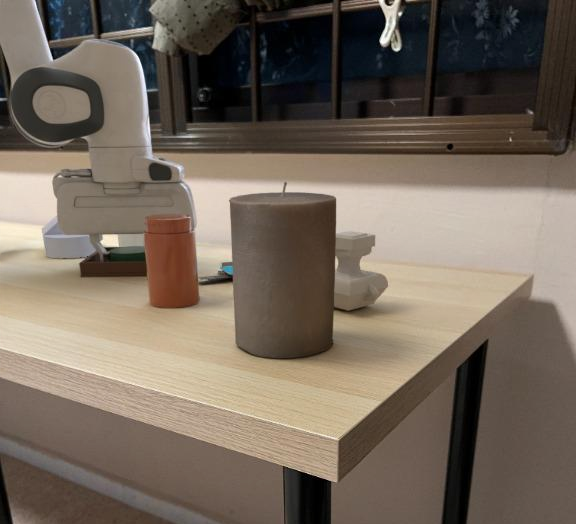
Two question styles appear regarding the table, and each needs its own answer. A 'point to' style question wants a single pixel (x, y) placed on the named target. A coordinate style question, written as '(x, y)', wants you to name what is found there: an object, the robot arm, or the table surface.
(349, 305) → the stamp
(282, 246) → the pillar candle
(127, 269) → the tray
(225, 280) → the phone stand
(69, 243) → the wedge on round base
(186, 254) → the jar
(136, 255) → the jar lid
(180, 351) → the table surface
